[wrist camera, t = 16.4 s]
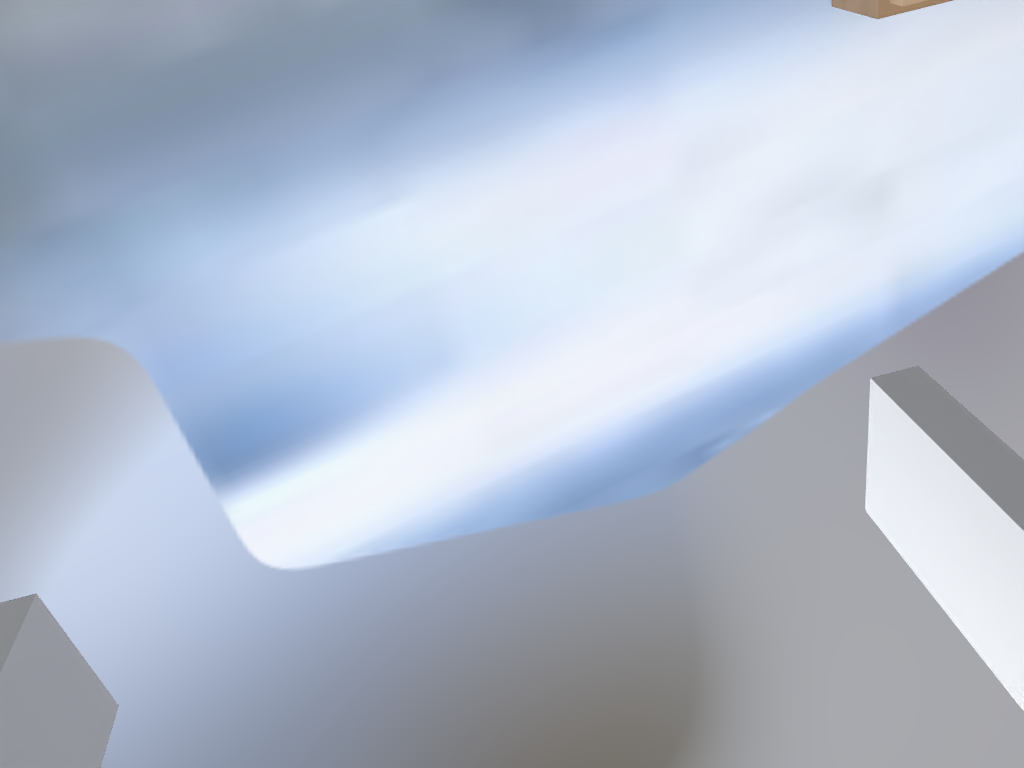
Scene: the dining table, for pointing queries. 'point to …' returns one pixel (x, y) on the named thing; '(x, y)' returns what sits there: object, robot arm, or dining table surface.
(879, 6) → the wooden square block
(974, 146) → the dining table surface
